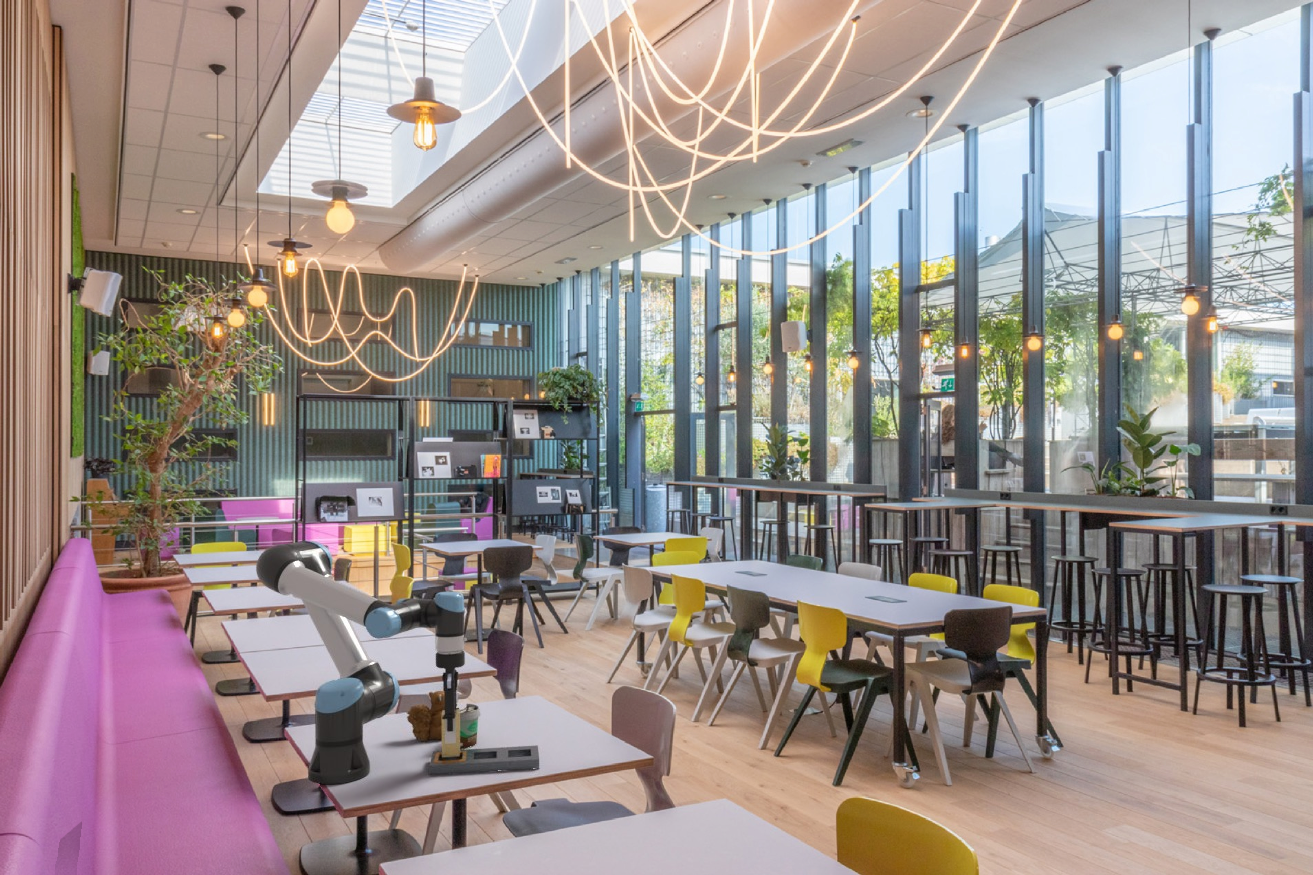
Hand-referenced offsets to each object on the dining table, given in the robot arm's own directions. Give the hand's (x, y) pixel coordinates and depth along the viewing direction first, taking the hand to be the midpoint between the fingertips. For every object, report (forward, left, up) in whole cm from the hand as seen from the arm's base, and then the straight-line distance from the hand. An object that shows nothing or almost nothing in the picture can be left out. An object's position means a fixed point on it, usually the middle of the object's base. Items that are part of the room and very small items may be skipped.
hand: (451, 739), depth 246 cm
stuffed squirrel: (-7, +28, -7) cm, 29 cm away
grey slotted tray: (+9, 0, -7) cm, 11 cm away
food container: (+4, +19, -7) cm, 21 cm away
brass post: (0, 0, -4) cm, 4 cm away
